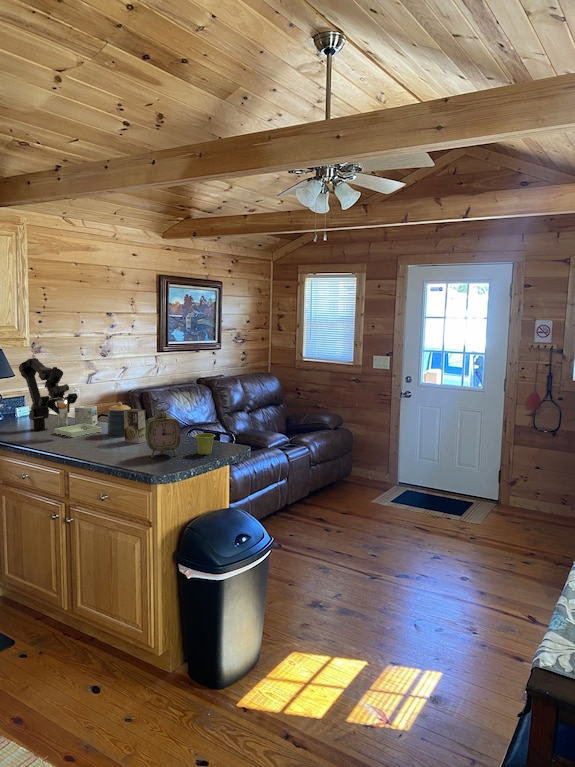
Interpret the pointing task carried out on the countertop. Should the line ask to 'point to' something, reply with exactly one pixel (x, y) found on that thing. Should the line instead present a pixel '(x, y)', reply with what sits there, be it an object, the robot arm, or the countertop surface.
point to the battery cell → (62, 412)
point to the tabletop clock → (162, 432)
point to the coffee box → (135, 425)
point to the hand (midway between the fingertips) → (63, 413)
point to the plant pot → (204, 443)
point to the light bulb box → (86, 415)
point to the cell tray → (77, 430)
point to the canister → (116, 420)
